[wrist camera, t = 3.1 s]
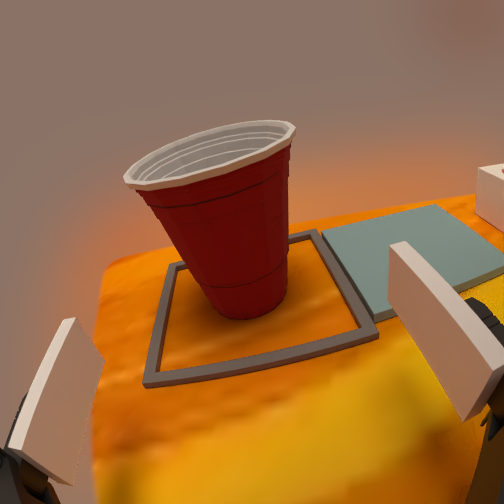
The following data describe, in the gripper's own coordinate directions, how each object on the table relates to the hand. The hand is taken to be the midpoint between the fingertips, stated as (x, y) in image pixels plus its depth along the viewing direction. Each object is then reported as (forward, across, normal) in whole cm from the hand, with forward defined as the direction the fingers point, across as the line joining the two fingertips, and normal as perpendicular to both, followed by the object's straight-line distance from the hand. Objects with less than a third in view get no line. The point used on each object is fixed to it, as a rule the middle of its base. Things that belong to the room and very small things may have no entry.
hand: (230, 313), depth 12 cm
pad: (+10, +14, -7) cm, 18 cm away
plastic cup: (+10, 0, -7) cm, 12 cm away
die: (+11, +27, -6) cm, 30 cm away
